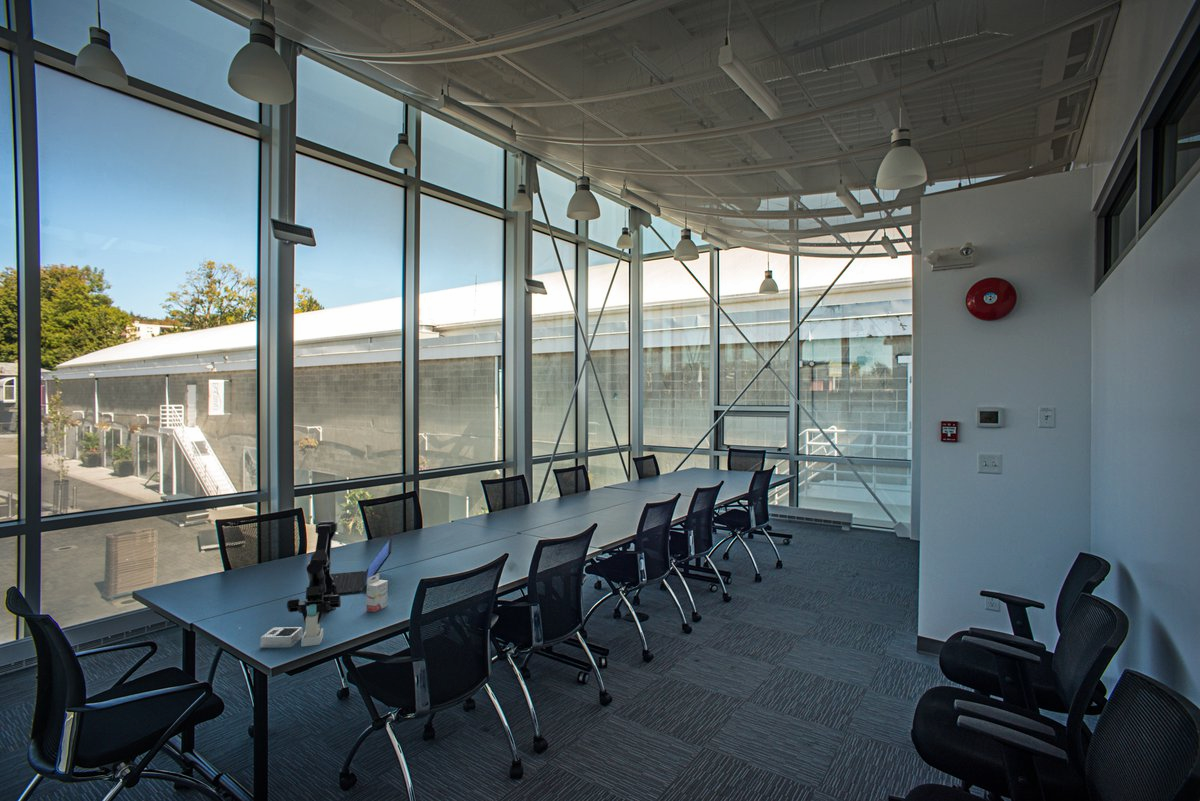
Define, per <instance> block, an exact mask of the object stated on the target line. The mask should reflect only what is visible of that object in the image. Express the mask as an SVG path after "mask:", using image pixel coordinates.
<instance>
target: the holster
mask: <svg viewBox="0 0 1200 801" xmlns="http://www.w3.org/2000/svg"><path fill="white" fill-rule="evenodd" d="M323 637H324V628H323V627H322V628H319V636H316V637H307V638H306V629H305V630H304V632H303V636H302V638H301V639H300V640H301V645H300V646H301V647H310V646H317V645H321V643H322V641H323V640H322V639H323Z"/></svg>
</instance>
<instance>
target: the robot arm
mask: <svg viewBox="0 0 1200 801" xmlns="http://www.w3.org/2000/svg"><path fill="white" fill-rule="evenodd" d="M337 530H338V522H335V520H321V521H319V523H316V524H315V533H316V534H317V538H316V539H317V540H316V546H315V552H314V553H313V554H311V557H310V560H309V561H308V563H307V566H306V573H307V577H308V586H307V587H306V589H305V600H300V598H290V599H288V600H287V602H286V607H287V610H288V613H296V612H298V614H302V616H303V622H304V625H305V626H306V617H307V615H308V609H307V607H309V605H311V604H316V612H319V616H318V624H319V625H320V623H321V621H322V619H323V618H324V616H325V614H328V613H330V612H332V611H334V610H336V608H340V607H341V603H342V599H341V595H337V588H336V586H335V583H334V579H333V578H332V576H331V575H330V574H331V566H332V563H331V560H332V541H333V539H334V538H335V536H336V535H337V534H336V533H337ZM332 592H333V593H332Z"/></svg>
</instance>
